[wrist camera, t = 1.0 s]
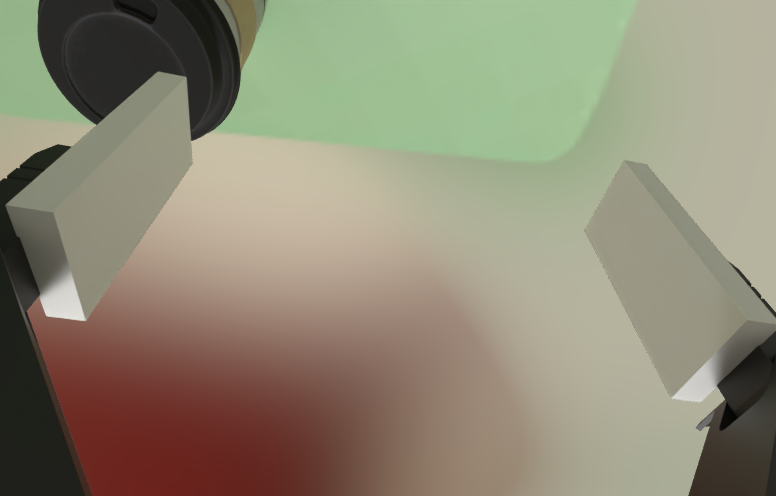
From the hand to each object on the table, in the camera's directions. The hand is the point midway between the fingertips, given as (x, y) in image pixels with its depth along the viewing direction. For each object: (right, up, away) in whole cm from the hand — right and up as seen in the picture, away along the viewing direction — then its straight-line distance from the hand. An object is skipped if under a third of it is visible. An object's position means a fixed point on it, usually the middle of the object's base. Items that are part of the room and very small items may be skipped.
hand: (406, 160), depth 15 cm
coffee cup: (-12, +15, +20) cm, 28 cm away
